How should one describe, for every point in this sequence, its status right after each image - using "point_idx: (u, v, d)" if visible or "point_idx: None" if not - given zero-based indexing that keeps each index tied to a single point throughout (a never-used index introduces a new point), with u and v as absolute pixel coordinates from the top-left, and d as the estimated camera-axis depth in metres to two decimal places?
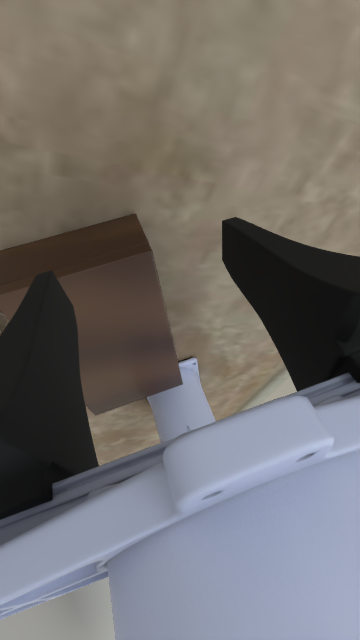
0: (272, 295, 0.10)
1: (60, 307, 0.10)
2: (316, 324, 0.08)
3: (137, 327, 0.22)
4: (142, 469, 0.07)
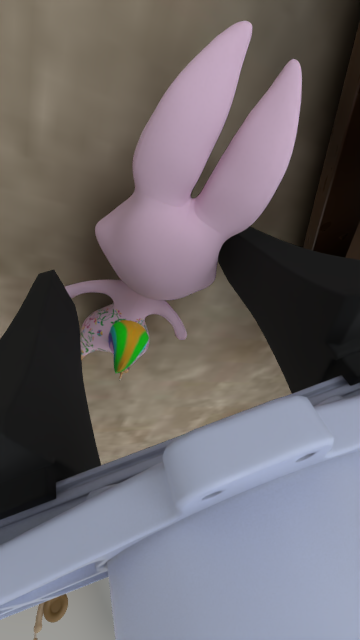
0: (266, 297, 0.10)
1: (62, 306, 0.10)
2: (310, 327, 0.08)
3: None
4: (142, 469, 0.07)
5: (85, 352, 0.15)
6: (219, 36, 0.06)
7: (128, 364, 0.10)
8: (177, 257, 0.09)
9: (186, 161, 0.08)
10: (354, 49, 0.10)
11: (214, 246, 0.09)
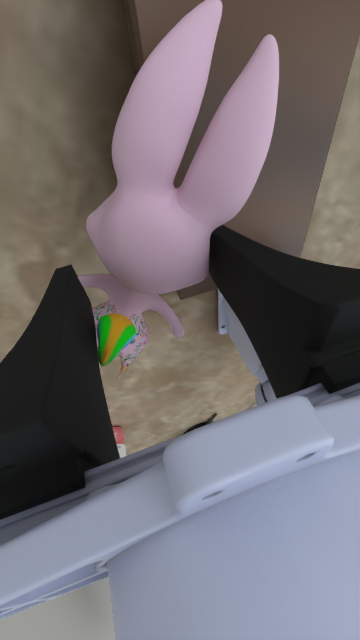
0: (250, 302, 0.10)
1: (79, 300, 0.10)
2: (290, 334, 0.08)
3: (303, 85, 0.13)
4: (142, 469, 0.07)
5: None
6: (187, 15, 0.06)
7: (111, 356, 0.10)
8: (158, 248, 0.09)
9: (161, 147, 0.07)
10: None
11: (198, 237, 0.09)
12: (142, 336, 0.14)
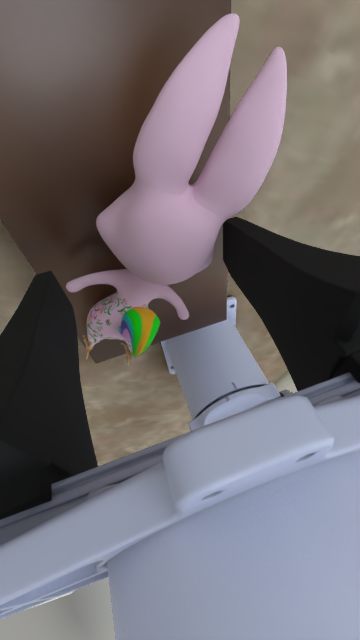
0: (273, 295, 0.10)
1: (59, 307, 0.10)
2: (317, 324, 0.08)
3: None
4: (142, 469, 0.07)
5: (93, 342, 0.15)
6: (210, 30, 0.07)
7: (146, 347, 0.11)
8: (182, 243, 0.10)
9: (186, 151, 0.08)
10: None
11: (214, 229, 0.10)
12: None
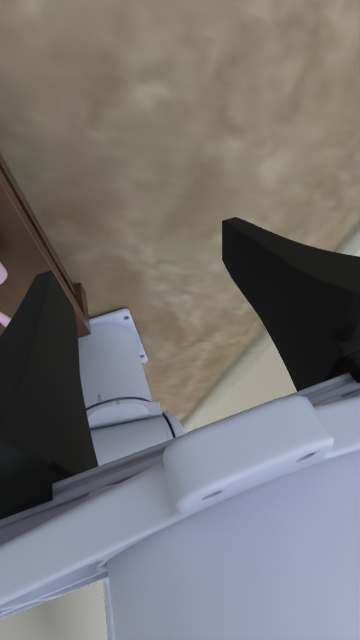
0: (272, 295, 0.10)
1: (60, 307, 0.10)
2: (316, 325, 0.08)
3: None
4: (142, 469, 0.07)
5: None
6: None
7: None
8: None
9: None
10: None
11: None
12: None
